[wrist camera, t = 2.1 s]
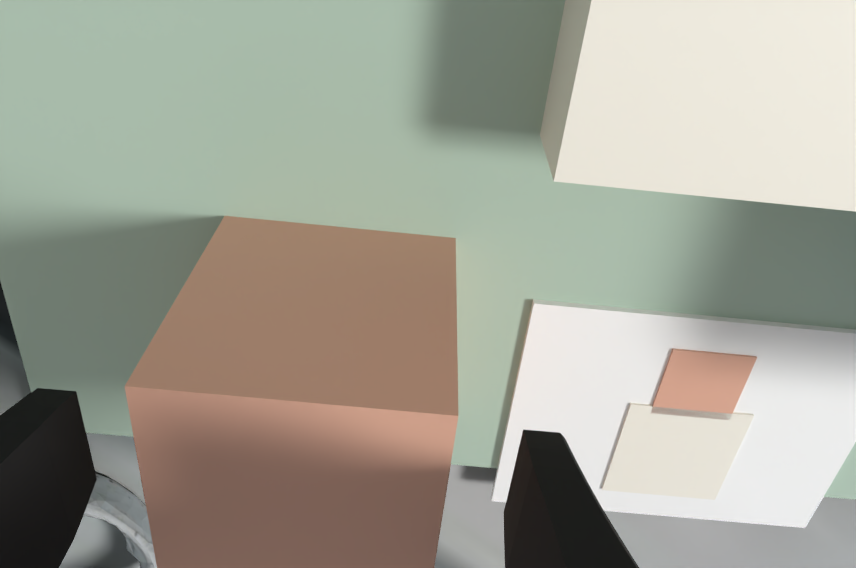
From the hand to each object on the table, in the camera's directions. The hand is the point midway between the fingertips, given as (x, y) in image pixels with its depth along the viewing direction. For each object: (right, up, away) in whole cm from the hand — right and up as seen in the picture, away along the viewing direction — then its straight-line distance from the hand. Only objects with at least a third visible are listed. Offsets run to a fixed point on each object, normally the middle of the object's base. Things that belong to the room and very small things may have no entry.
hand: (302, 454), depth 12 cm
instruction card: (+8, 0, +5) cm, 9 cm away
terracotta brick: (0, +2, +3) cm, 4 cm away
